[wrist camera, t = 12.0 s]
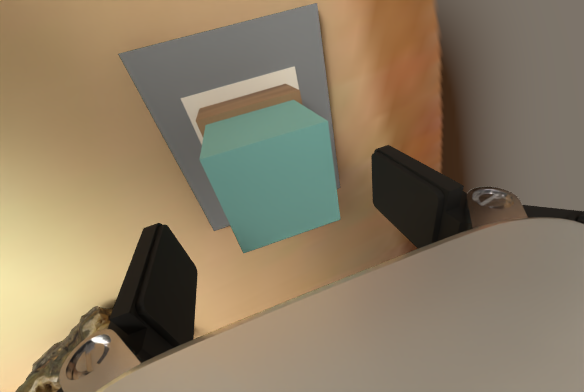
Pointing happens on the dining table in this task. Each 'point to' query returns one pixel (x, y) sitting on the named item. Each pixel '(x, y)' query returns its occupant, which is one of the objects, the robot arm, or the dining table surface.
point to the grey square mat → (228, 82)
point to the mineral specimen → (63, 352)
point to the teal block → (272, 172)
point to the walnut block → (246, 104)
